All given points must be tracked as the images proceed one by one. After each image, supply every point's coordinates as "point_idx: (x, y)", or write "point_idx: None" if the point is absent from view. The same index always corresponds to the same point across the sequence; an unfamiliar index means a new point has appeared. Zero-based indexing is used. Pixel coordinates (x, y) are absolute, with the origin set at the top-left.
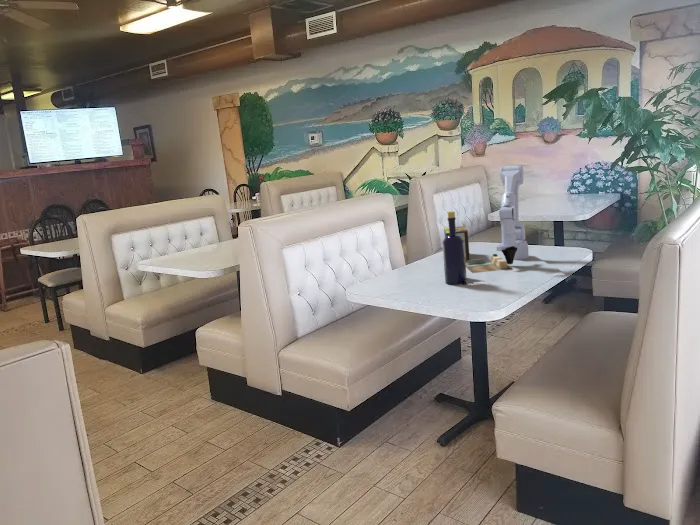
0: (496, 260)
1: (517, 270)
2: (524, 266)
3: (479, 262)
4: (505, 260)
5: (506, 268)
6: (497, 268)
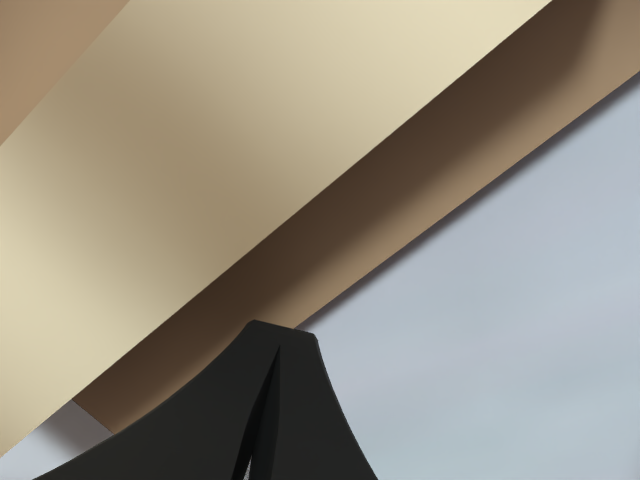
0: (36, 120)
1: None
2: (494, 457)
3: None
4: (40, 423)
5: None
6: None
